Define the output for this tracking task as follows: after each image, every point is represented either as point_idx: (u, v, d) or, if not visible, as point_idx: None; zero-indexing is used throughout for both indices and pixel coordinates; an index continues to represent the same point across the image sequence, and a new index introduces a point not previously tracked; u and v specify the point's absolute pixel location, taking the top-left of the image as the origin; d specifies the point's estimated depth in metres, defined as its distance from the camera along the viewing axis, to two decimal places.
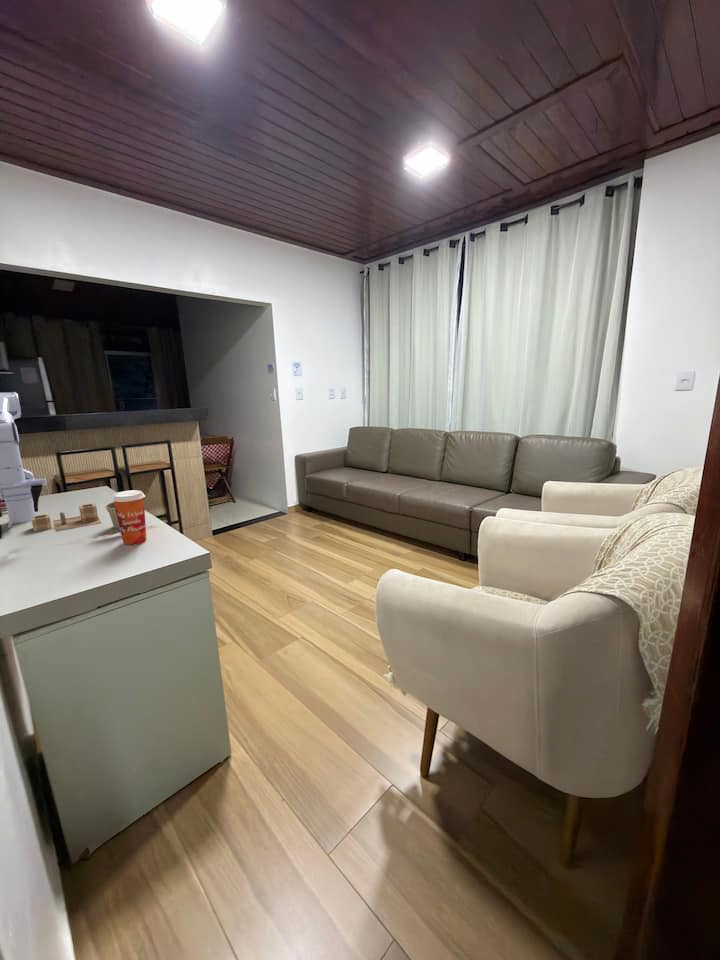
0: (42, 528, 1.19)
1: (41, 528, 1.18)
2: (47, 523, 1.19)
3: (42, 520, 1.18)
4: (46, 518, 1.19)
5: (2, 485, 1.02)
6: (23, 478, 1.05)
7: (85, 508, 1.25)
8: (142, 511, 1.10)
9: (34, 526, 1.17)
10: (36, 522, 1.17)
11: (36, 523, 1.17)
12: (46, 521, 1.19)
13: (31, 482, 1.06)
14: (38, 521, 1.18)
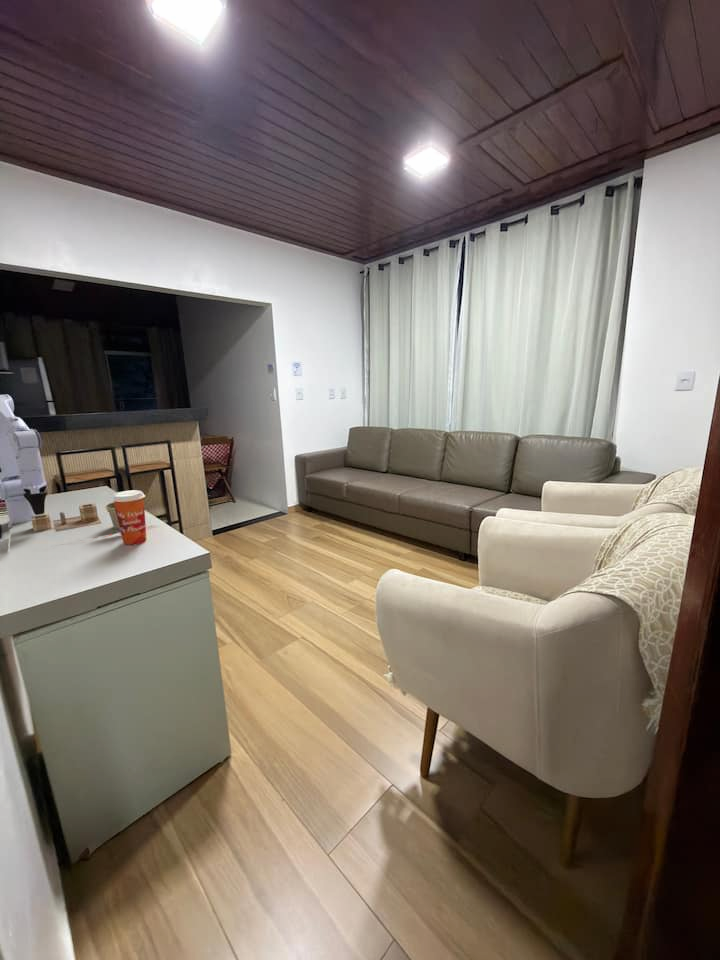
0: (42, 528, 1.19)
1: (41, 528, 1.18)
2: (47, 523, 1.19)
3: (42, 520, 1.18)
4: (46, 518, 1.19)
5: None
6: (28, 482, 1.14)
7: (85, 508, 1.25)
8: (142, 511, 1.10)
9: (34, 526, 1.17)
10: (36, 522, 1.17)
11: (36, 523, 1.17)
12: (46, 521, 1.19)
13: (26, 487, 1.13)
14: (38, 521, 1.18)
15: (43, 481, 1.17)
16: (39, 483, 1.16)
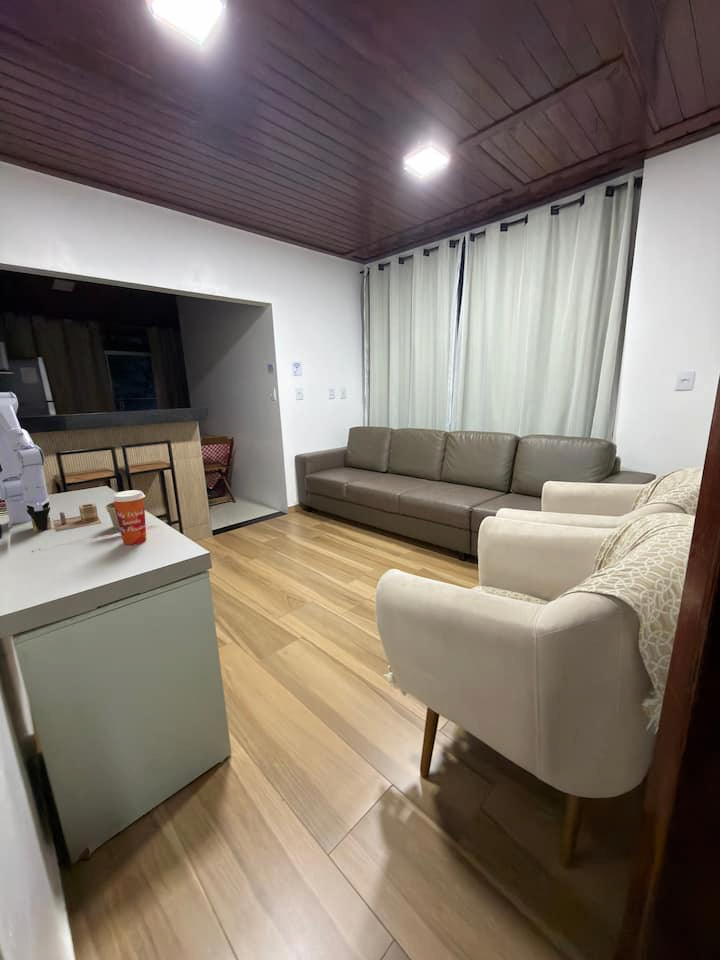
0: None
1: None
2: None
3: None
4: None
5: None
6: (32, 499, 1.15)
7: (85, 508, 1.25)
8: (142, 511, 1.10)
9: (34, 526, 1.17)
10: None
11: None
12: None
13: (30, 504, 1.14)
14: None
15: (46, 498, 1.19)
16: (42, 500, 1.17)
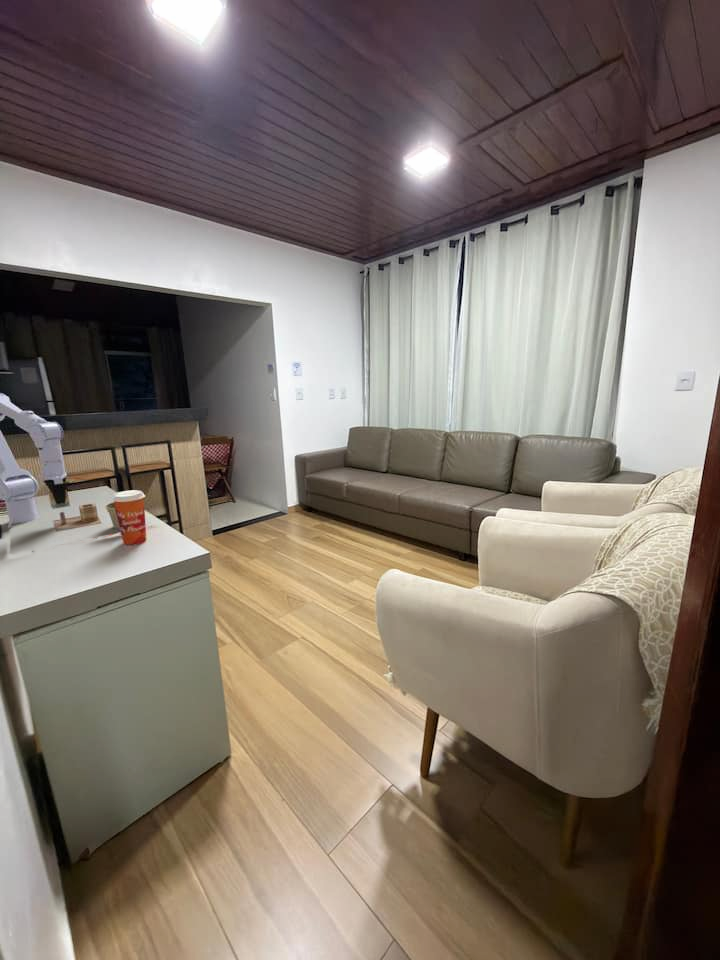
0: None
1: None
2: None
3: None
4: None
5: None
6: (50, 473, 1.17)
7: (85, 508, 1.25)
8: (142, 511, 1.10)
9: (52, 500, 1.19)
10: None
11: None
12: None
13: (49, 478, 1.16)
14: None
15: (64, 472, 1.21)
16: (61, 474, 1.19)
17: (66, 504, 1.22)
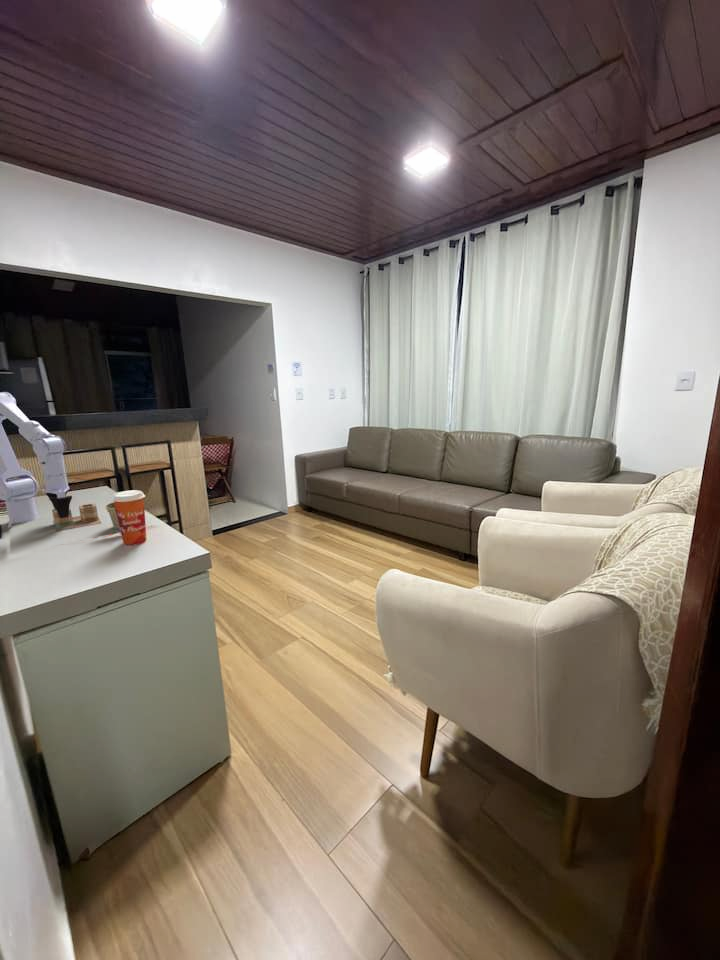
0: (63, 520, 1.22)
1: (63, 520, 1.22)
2: (68, 516, 1.23)
3: None
4: None
5: None
6: (53, 487, 1.18)
7: (85, 508, 1.25)
8: (142, 511, 1.10)
9: (56, 518, 1.21)
10: (58, 515, 1.21)
11: (58, 516, 1.21)
12: None
13: (52, 492, 1.17)
14: None
15: (67, 485, 1.22)
16: (63, 487, 1.20)
17: (69, 522, 1.23)
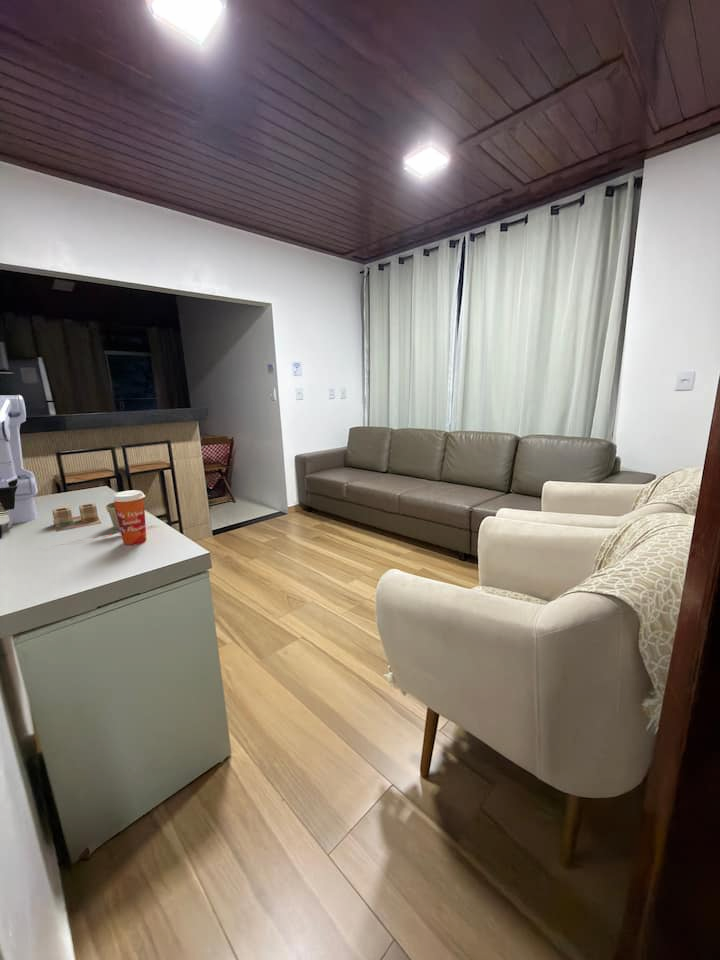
0: (63, 520, 1.22)
1: (63, 520, 1.22)
2: (68, 516, 1.23)
3: (64, 513, 1.22)
4: (67, 511, 1.22)
5: None
6: None
7: (85, 508, 1.25)
8: (142, 511, 1.10)
9: (56, 518, 1.21)
10: (58, 515, 1.21)
11: (58, 516, 1.21)
12: (68, 514, 1.23)
13: None
14: (60, 514, 1.21)
15: (13, 475, 1.12)
16: (9, 477, 1.10)
17: (69, 522, 1.23)
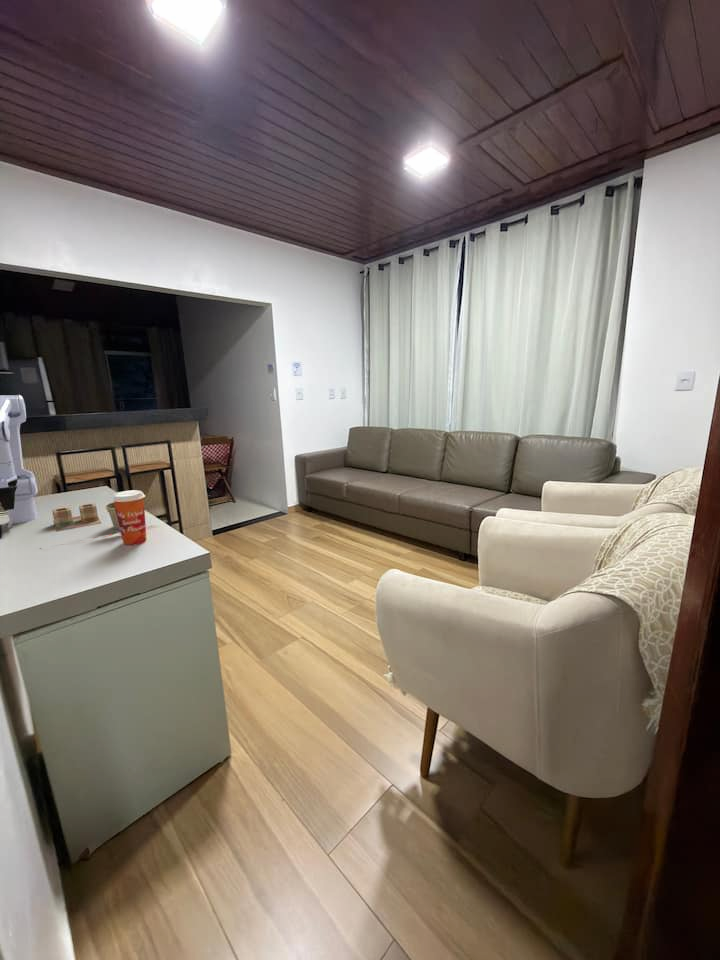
0: (63, 520, 1.22)
1: (63, 520, 1.22)
2: (68, 516, 1.23)
3: (64, 513, 1.22)
4: (67, 511, 1.22)
5: None
6: None
7: (85, 508, 1.25)
8: (142, 511, 1.10)
9: (56, 518, 1.21)
10: (58, 515, 1.21)
11: (58, 516, 1.21)
12: (68, 514, 1.23)
13: None
14: (60, 514, 1.21)
15: (13, 475, 1.12)
16: (8, 477, 1.10)
17: (69, 522, 1.23)
